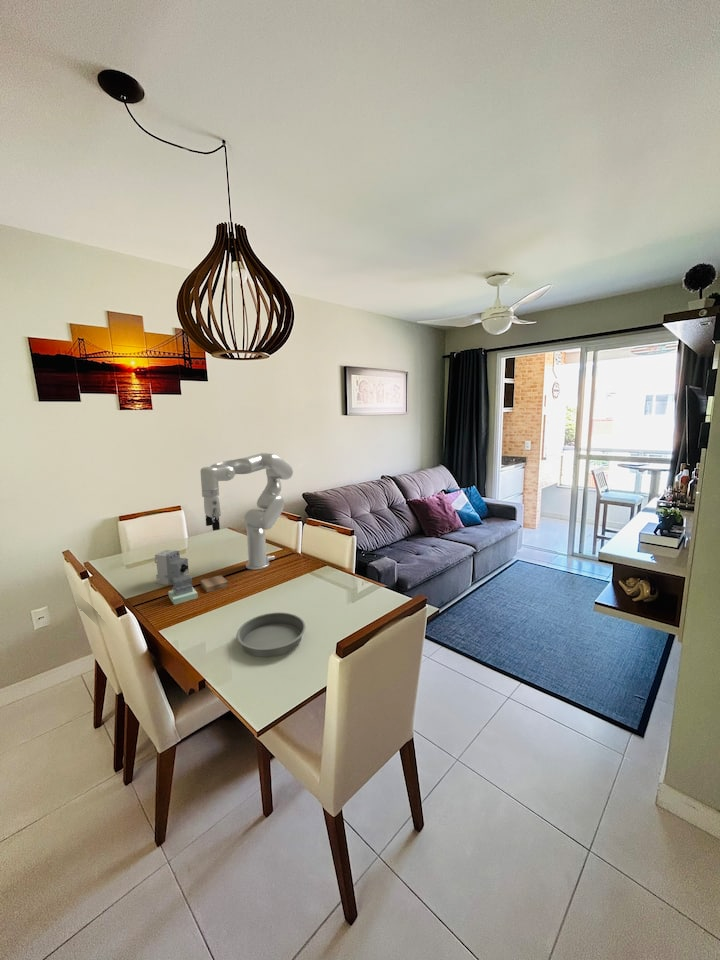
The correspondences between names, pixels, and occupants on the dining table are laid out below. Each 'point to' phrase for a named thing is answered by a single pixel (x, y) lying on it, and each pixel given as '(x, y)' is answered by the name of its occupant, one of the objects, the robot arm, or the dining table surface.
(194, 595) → the stand green
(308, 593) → the dining table surface
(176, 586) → the block
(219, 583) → the stand walnut
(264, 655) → the cake pan
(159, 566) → the circuit breaker
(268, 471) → the robot arm
